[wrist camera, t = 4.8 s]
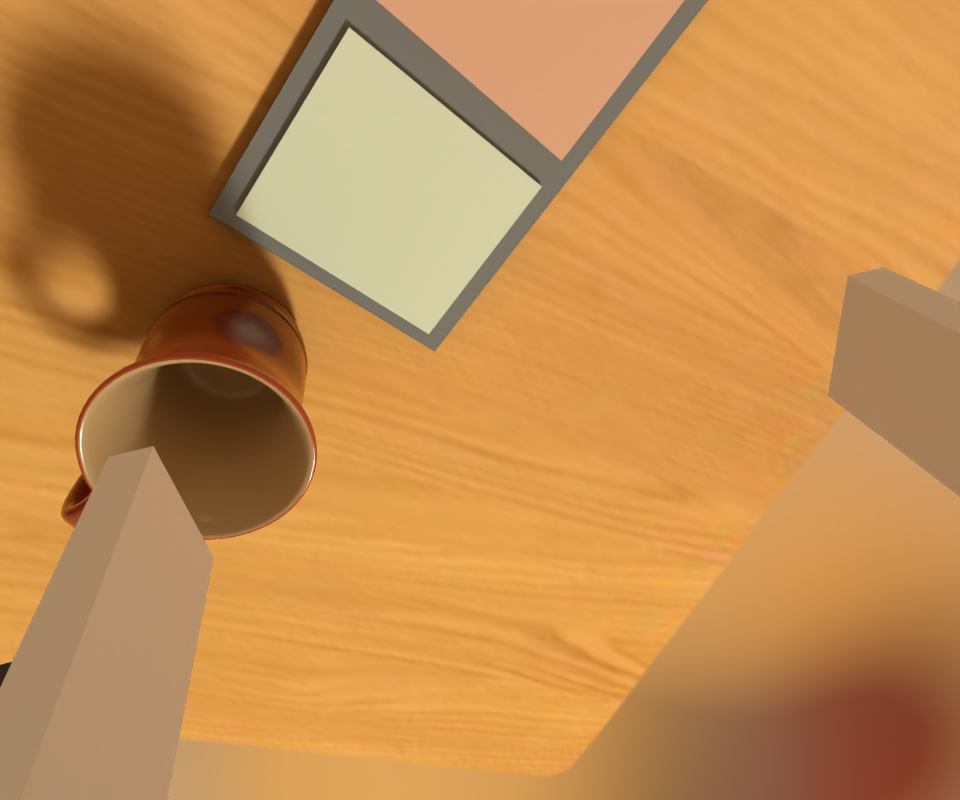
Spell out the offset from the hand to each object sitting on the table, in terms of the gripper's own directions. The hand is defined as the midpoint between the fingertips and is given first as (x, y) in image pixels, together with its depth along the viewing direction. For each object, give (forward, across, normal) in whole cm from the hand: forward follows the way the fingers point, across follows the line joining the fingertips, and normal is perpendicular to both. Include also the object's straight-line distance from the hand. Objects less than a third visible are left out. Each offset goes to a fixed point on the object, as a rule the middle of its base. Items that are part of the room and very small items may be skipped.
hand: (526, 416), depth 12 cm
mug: (+23, -12, -7) cm, 27 cm away
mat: (+22, +3, +3) cm, 23 cm away
